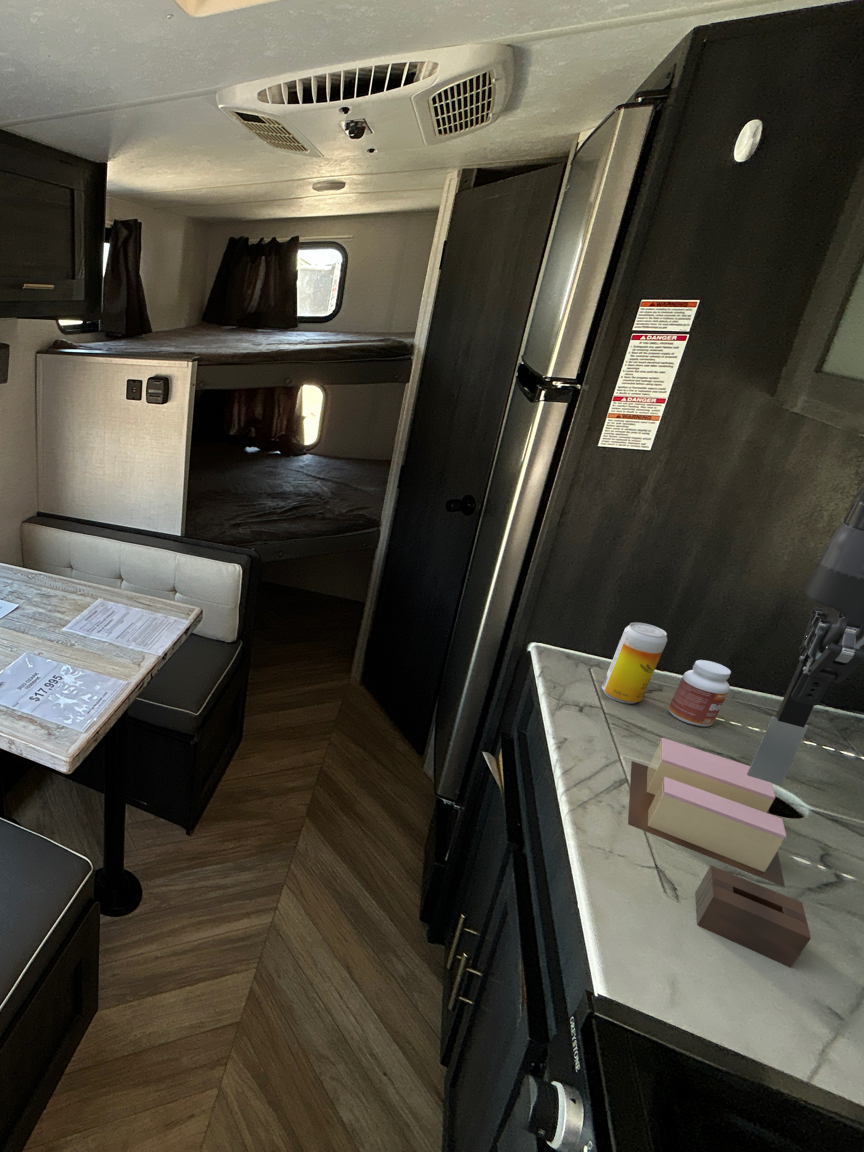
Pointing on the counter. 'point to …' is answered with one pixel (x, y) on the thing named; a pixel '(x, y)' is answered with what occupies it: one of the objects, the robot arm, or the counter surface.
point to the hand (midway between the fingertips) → (802, 697)
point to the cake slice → (716, 824)
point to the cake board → (639, 819)
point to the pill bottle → (701, 693)
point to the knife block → (752, 916)
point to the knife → (782, 737)
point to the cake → (708, 775)
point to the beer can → (634, 662)
